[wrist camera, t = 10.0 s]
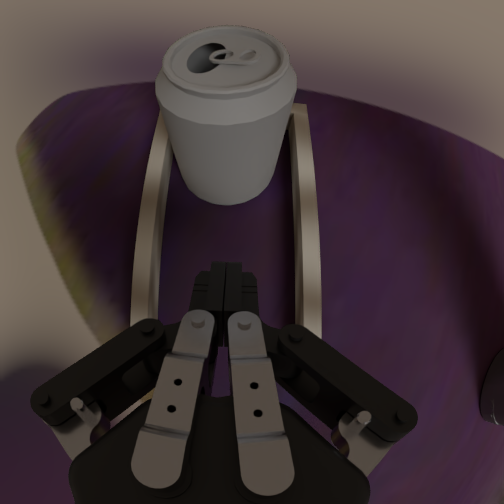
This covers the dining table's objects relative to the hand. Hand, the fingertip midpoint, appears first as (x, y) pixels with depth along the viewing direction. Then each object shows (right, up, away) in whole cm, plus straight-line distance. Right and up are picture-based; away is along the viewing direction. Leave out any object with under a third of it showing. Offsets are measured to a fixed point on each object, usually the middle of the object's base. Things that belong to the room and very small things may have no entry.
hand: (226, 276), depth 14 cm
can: (-1, +8, +8) cm, 12 cm away
